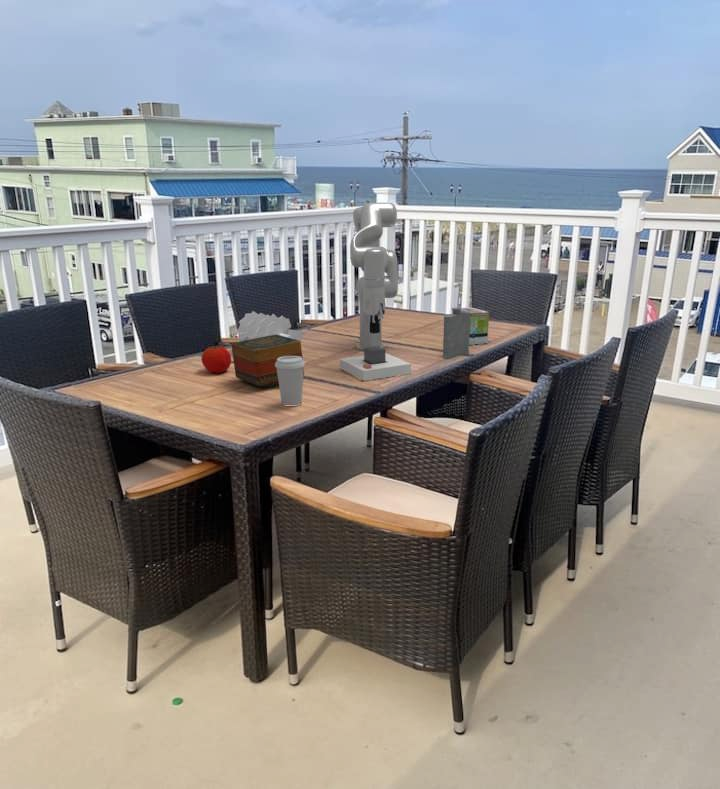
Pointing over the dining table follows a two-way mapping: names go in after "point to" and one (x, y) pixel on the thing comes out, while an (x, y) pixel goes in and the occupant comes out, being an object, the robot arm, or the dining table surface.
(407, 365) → the socket
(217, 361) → the tomato
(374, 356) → the plug
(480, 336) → the tea box
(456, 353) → the hip flask
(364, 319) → the robot arm
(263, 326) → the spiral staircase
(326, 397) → the dining table surface
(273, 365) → the decorative box
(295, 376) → the coffee cup
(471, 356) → the dining table surface
